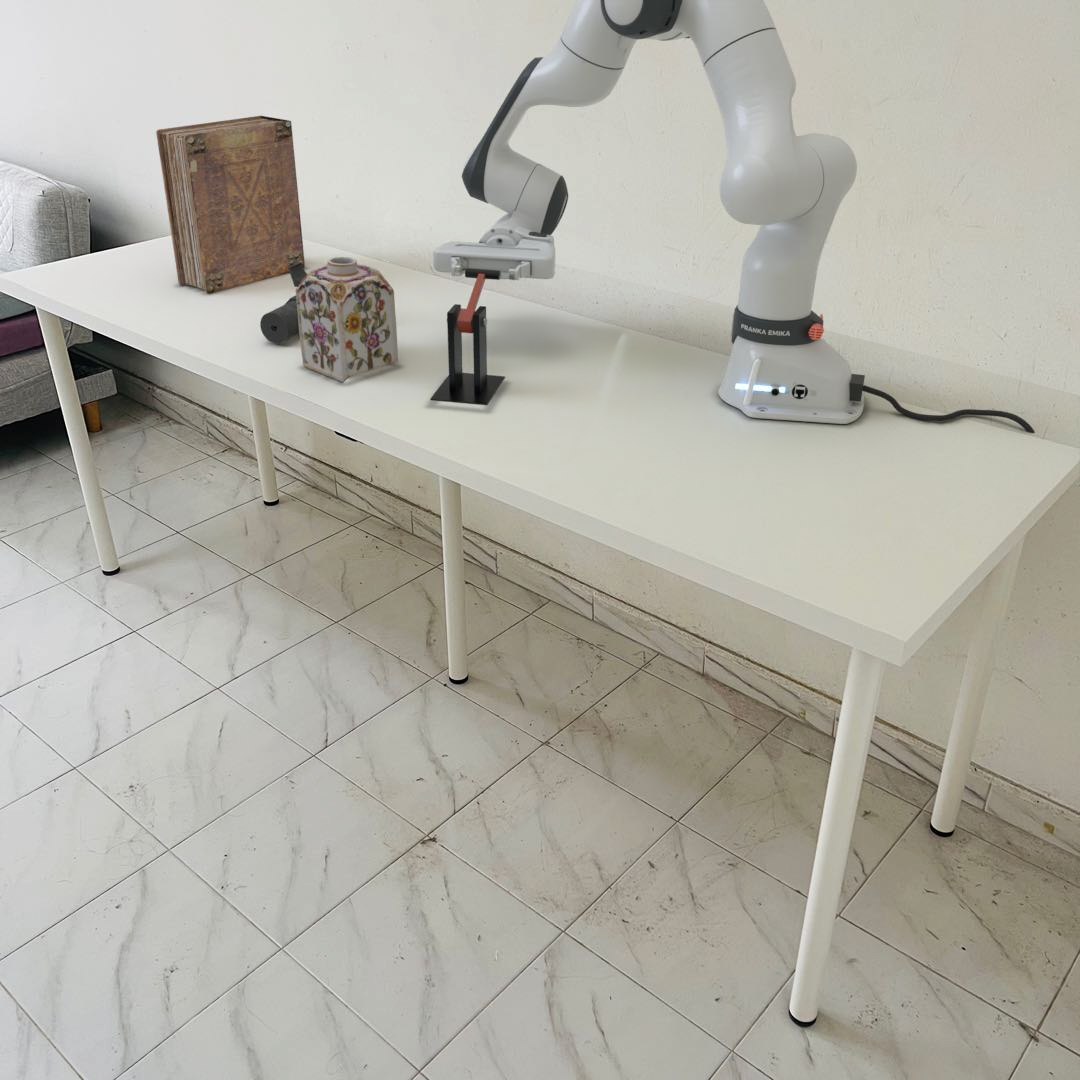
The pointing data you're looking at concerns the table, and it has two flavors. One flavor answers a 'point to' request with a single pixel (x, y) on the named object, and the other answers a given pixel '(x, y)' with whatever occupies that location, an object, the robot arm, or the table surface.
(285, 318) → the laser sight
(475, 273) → the switch lever
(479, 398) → the switch bracket
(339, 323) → the decorative jar
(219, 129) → the book
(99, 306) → the table surface
